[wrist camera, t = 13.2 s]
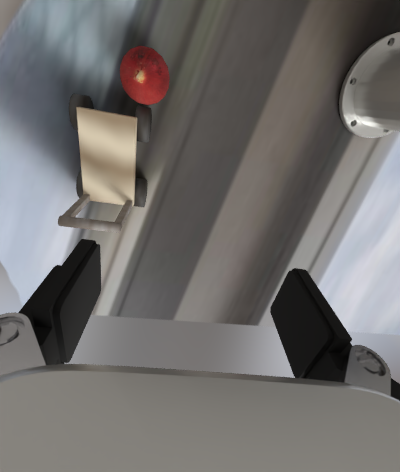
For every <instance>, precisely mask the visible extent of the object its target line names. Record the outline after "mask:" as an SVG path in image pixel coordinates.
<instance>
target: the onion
mask: <svg viewBox="0 0 400 472" xmlns="http://www.w3.org/2000/svg"><path fill="white" fill-rule="evenodd" d="M120 79H121V82H122V85H123V89H124V90H125V91H126V93H127V94H128V95H129V96H130V98H132V99H133V100H135V101H136V102H138V103H141V104H146V105H150V104H154V103H157V102H159V101H160V100H161V99H162V98H164V96H165V94H166V92H167V90H168V88H169V72H168V67H167V65H166V63H165V61H164V60H163V58H162V56H161V55H159V54H158V53H157V52H156V51H155V50H154V49H152V48H148V47H144V46H138V47H135V48H132V49H130V50H129V51H128V52H127V53H126V55H125V56H124V57H123V60H122V63H121V66H120Z"/></svg>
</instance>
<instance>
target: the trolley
mask: <svg viewBox="0 0 400 472" xmlns="http://www.w3.org/2000/svg"><path fill="white" fill-rule="evenodd" d="M69 115H70V121H71V124H72V126H73V128H74V129H75V130H77V131H78V134H79V146H80V158H81V171H80V172H79V174H78V177H77V184H76V188H77V194H78V197H79V198H80V199H79V200H78V201H77V202H76V203H75V204H73V205H72V206H71V207H70V208H69V209H68V210H67V211H66V212H65V213H64V214H63V215H62V216H60V217H59V219H58V225H59V226H66V227H74V228H82V229H91V230H99V231H108V232H116V233H120V232H121V228H122V226H123V224H124V222H125V220H126V218H127V216H128V214H129V212H130V209H131V207H132V206H138V207H144V206H145V202H146V196H147V180H146V179H139V178H136V179H135V168H136V141H141V142H147V143H148V142H149V139H150V132H151V118H152V114H151V108H147V107H142V106H137V109H136V114H135V117H132V116H127V115H121V114H116V113H110V112H105V111H100V110H94V107H93V103H92V100H91V98H90V97H89V96H85V95H80V94H73V95H72V96H71V98H70V103H69ZM89 201H97V202H105V203H112V204H120V205H124V206H123V208H122V210H121V212H120V213H119V215H118V217H117V219H116V221H115V222H108V221H100V220H92V219H84V218H76V217H75V216H76V215H77V214H78V213H79V212H80V211H81V210H82V209H83V208H84V206H85V205H86V204H87V203H88V202H89Z"/></svg>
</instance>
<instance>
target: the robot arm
mask: <svg viewBox="0 0 400 472" xmlns="http://www.w3.org/2000/svg"><path fill="white" fill-rule="evenodd" d="M350 80H351V82H350ZM339 112H340V116H341V120H342V122H343V124H344V126H345V127H346V128H347V129H348V130H349V131H350V132H352V133H353V134H355V135H358V136H361V137H366V138H377V137H381V136H385V135H387V134H390V133H392V132H394V131H399V132H400V32H397V33H394V34H390V35H388V36H386V37H383V38H381V39H379V40H378V41H376V42H375V43H373V44H372V45H370V46H369V47H368V48H367V49H366V50H365V51H364V52H363V53H362V54H361V55H360V56H359V57H358V59H357V60H356V61H355V62H354V64H353V65H352V67H351V68H350V70H349V72H348V73H347V76H346V78H345V80H344V82H343V85H342V89H341V92H340V99H339ZM100 291H101V262H100V245H99V244H96V241H93V240H86V239H81V240H80V242H79V243H78V244H77V246H76V247H75V248H74V250H73V251H72V253H71V254H70V255H69V257H68V258H67V259H66V261H65V262H64V263H63V265H62V266H60V265H57V266H55V267H54V268H53V269H52V270H51V272H50V273H49V274H48V275H47V277H46V278H45V279H44V281H43V282H42V283H41V284H40V286H39V287H38V288H37V290H36V291H35V292H34V293H33V295H32V296H31V297H30V299H29V300H28V301H27V302H26V304H25V305H24V306H23V308H22V309H21V310H20V311H19V313H6V314H2V315H0V472H400V384H399V383H397V382H396V381H394V380H393V379H392V378H391V374H390V370H389V368H388V366H387V364H386V363H385V361H384V360H383V359H382V358H381V357H380V356H379V355H378V354H377V353H375V352H374V351H372V350H371V349H369V348H367V347H365V346H362V345H355V346H352V345H351V343H350V341H351V340H352V338H351V337H350V335H349V334H348V332H347V331H346V329H345V328H344V326H343V325H342V323H341V322H340V320H339V319H338V317H337V316H336V314H335V313H334V311H333V310H332V308H331V307H330V305H329V304H328V302H327V301H326V299H325V298H324V296H323V295H322V293H321V292H320V290H319V289H318V287H317V285H316V284H315V282H314V281H313V279H312V278H311V276H310V275H309V273H308V272H307V271H306V270H303V269H296V268H294V269H292V271H289V272H288V274H287V276H286V278H285V280H284V282H283V284H282V286H281V288H280V290H279V292H278V294H277V296H276V298H275V300H274V302H273V304H272V306H271V315H272V318H273V320H274V323H275V326H276V329H277V331H278V334H279V337H280V339H281V342H282V345H283V347H284V350H285V353H286V355H287V358H288V361H289V363H290V366H291V369H292V372H293V374H294V376H295V378H287V377H273V376H261V375H247V374H234V373H220V372H206V371H191V370H176V369H161V368H145V367H130V366H110V365H89V364H88V365H87V364H64V362H66V363H68V362H69V361H70V360H71V358H72V355H73V353H74V351H75V349H76V346H77V344H78V342H79V340H80V338H81V335H82V333H83V331H84V329H85V326H86V324H87V322H88V319H89V317H90V315H91V313H92V311H93V308H94V306H95V304H96V302H97V299H98V297H99V295H100Z"/></svg>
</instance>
